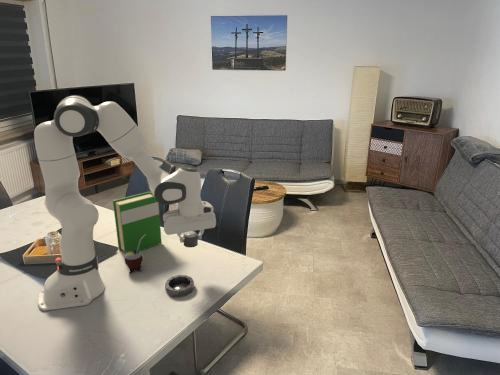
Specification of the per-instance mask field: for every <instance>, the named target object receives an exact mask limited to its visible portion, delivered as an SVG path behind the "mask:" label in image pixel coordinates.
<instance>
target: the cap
mask: <svg viewBox="0 0 500 375" xmlns="http://www.w3.org/2000/svg"><path fill="white" fill-rule="evenodd" d="M198 234H199V233H197V232H196V231H190V232H184V234H183V236H182V237H184V241H185V242H183V246H184V247H185V248H196V247H197V246H198V245H199V240H198Z"/></svg>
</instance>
